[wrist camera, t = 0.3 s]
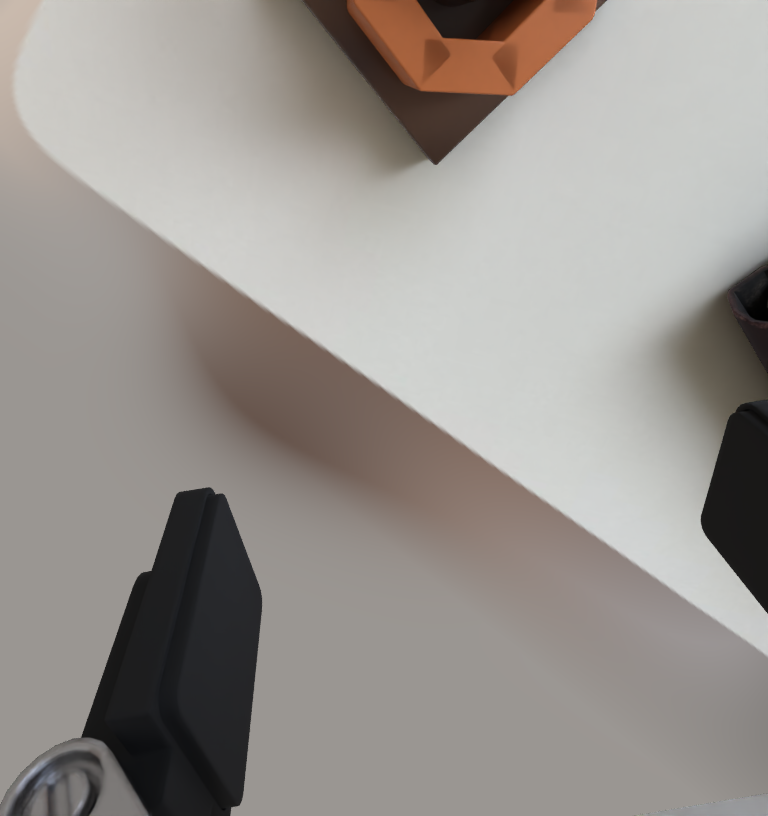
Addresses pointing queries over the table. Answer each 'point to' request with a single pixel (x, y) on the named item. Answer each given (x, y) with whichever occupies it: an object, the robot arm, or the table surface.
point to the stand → (415, 110)
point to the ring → (471, 43)
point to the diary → (753, 310)
